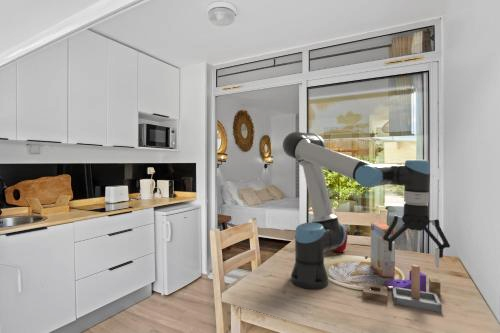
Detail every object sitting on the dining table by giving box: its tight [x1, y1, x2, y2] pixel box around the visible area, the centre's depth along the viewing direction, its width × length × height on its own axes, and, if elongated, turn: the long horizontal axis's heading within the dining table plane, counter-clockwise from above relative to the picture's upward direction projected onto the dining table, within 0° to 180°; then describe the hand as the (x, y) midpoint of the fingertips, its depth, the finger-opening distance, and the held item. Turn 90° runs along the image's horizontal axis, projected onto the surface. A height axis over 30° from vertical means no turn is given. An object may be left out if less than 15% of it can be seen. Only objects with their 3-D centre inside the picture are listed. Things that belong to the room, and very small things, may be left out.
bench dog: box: [428, 277, 441, 297], centre depth 107 cm, size 3×4×5 cm
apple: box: [331, 229, 348, 253], centre depth 157 cm, size 10×10×14 cm
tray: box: [391, 287, 443, 313], centre depth 100 cm, size 14×9×2 cm, turn 66°
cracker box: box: [370, 222, 396, 278], centre depth 128 cm, size 14×6×21 cm, turn 175°
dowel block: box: [362, 282, 389, 304], centre depth 105 cm, size 8×8×2 cm
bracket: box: [385, 269, 427, 292], centre depth 110 cm, size 12×7×7 cm, turn 94°
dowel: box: [410, 264, 421, 300], centre depth 100 cm, size 3×3×12 cm
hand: (414, 263), depth 100 cm, fingers open, 13 cm apart
